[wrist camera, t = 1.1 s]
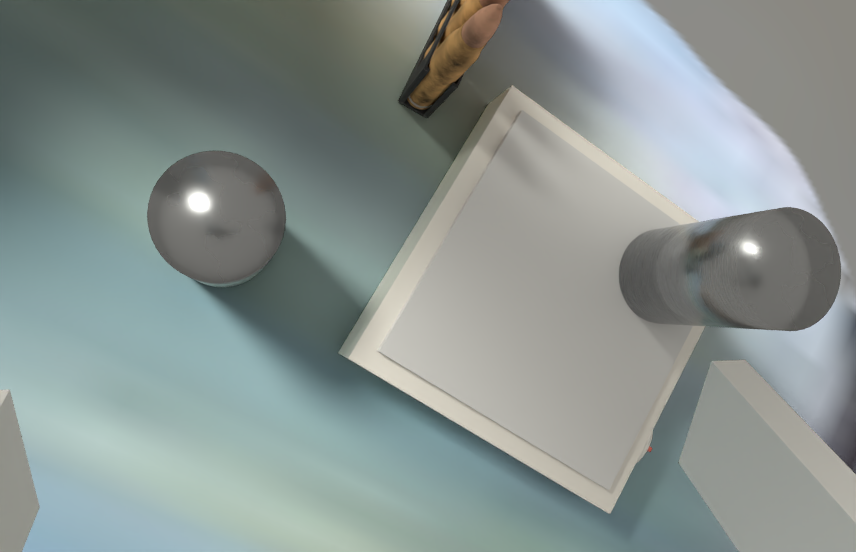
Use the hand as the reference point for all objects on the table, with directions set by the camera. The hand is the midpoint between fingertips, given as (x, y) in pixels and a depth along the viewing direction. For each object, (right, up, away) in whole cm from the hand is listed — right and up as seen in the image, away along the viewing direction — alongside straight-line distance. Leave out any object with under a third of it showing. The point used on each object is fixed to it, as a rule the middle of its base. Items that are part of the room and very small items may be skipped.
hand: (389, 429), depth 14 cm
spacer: (-10, +5, +22) cm, 24 cm away
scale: (+7, +2, +26) cm, 27 cm away
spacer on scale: (+13, +3, +24) cm, 27 cm away
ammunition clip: (+2, +17, +25) cm, 30 cm away
